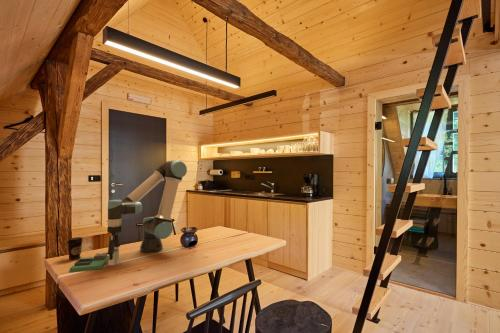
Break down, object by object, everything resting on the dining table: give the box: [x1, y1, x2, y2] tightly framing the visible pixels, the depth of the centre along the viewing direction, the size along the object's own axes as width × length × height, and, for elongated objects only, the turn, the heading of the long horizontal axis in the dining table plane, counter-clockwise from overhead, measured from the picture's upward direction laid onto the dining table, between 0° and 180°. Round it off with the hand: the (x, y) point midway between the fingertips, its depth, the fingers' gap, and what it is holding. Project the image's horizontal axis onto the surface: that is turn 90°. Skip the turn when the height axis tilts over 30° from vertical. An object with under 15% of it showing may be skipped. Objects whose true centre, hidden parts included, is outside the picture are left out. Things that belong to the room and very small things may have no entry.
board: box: [69, 252, 109, 273], centre depth 159 cm, size 16×18×5 cm
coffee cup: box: [66, 236, 84, 261], centre depth 170 cm, size 9×8×13 cm
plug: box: [110, 249, 120, 266], centre depth 160 cm, size 4×4×8 cm
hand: (113, 261), depth 160 cm, fingers open, 13 cm apart
